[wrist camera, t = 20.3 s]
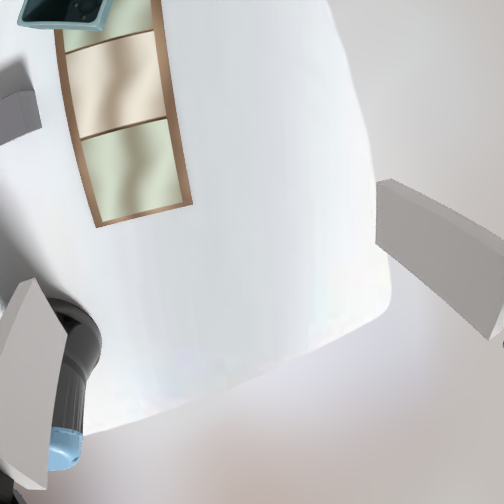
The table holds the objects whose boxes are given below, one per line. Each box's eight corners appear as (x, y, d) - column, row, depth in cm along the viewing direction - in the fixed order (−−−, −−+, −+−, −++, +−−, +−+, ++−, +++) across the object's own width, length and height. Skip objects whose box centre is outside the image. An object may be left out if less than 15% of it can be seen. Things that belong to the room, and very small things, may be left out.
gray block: (10, 141, 30) (-7, 148, 25) (2, 105, 27) (-16, 108, 23) (42, 127, 30) (27, 132, 26) (34, 90, 28) (18, 91, 24)
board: (96, 226, 38) (95, 229, 38) (52, -20, 21) (50, -22, 20) (192, 202, 41) (193, 205, 40) (156, -48, 23) (156, -51, 23)
